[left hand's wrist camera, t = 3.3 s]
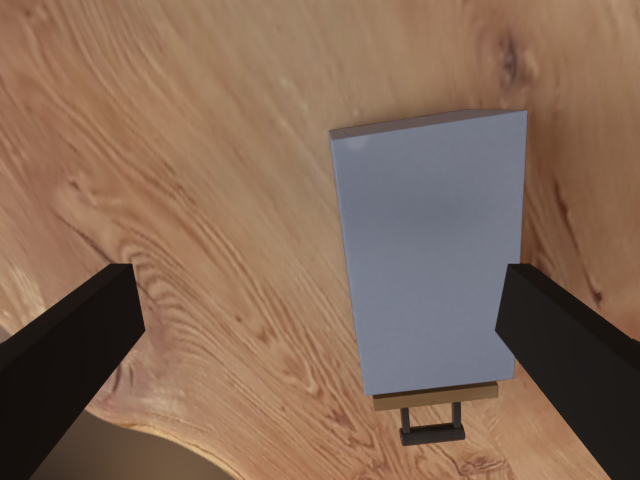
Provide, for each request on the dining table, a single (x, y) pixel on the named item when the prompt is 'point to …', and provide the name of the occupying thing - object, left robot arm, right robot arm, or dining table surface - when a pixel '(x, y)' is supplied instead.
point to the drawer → (433, 397)
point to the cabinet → (430, 243)
